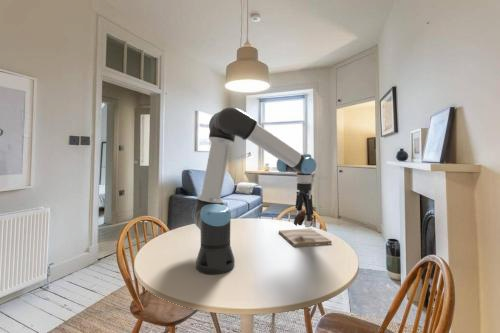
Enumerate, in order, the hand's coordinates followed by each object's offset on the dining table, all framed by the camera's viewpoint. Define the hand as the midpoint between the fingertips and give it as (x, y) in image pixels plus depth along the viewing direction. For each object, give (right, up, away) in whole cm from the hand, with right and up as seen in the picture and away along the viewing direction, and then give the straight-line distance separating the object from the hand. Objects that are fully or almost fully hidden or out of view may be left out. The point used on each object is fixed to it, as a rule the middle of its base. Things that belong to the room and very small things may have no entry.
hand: (303, 224), depth 128 cm
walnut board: (0, -7, 0) cm, 7 cm away
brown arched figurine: (-1, 0, -1) cm, 1 cm away
